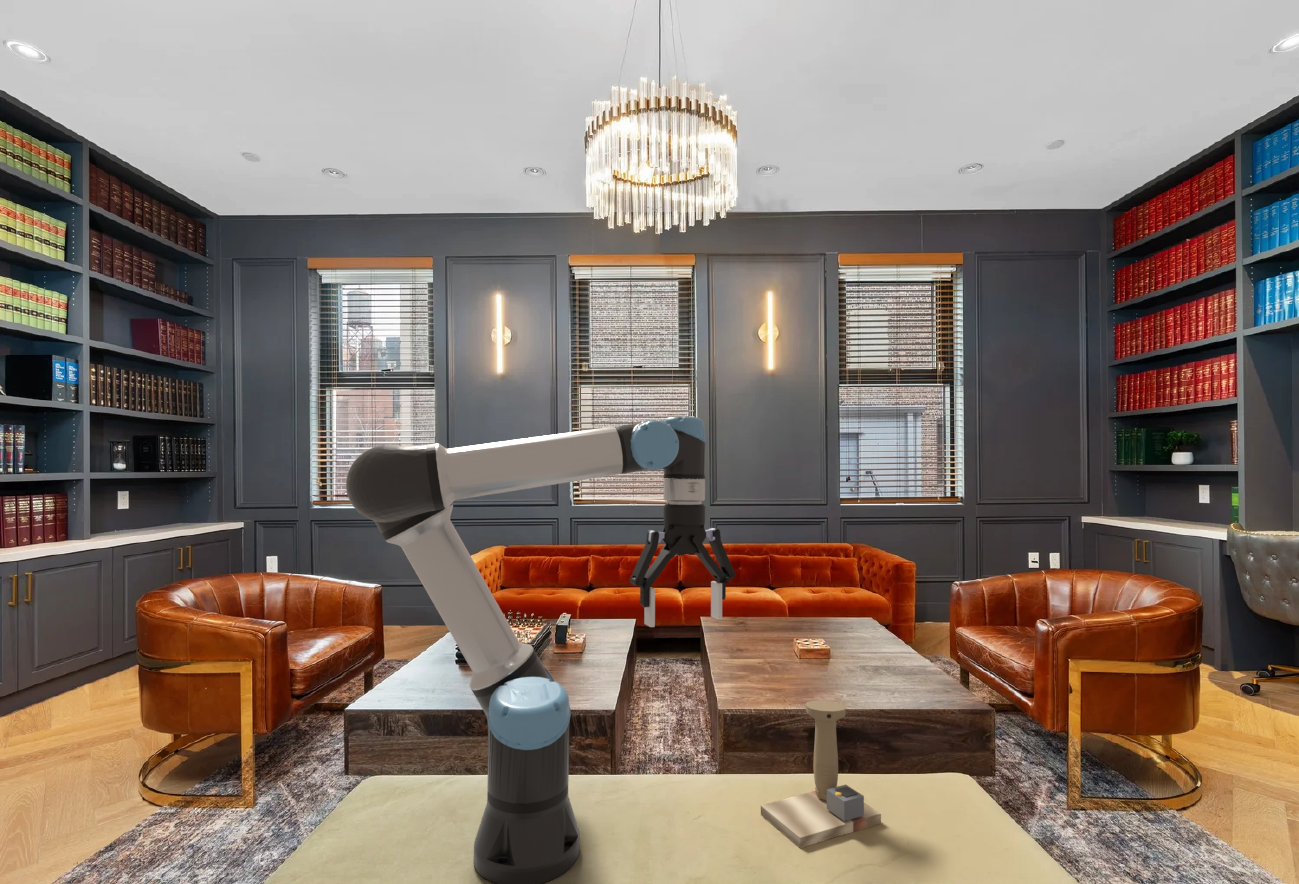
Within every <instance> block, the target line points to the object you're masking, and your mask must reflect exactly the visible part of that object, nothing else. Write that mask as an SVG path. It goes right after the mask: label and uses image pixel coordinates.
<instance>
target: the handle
mask: <svg viewBox="0 0 1299 884" xmlns="http://www.w3.org/2000/svg"><path fill="white" fill-rule="evenodd" d="M846 710H847V709H846V706H845V705H844V704H843V703H841V702H839V701H832V700H822V699H821V700H820V699H819V700H811V701H807V702H805V712H806V714H807V715H808V716H810V718H812V719H814V723H815V725H814V728H815V730H814V747H813V748H814V749H813V764H812V765H813V778H814V785H815V787H814V789H815V790H814V791H816V795H817V797H818V798H819V799H822V800H825V801H827V789H831V788H834V787H837V785H838V781H839V779H838V778H839V757H838V742H837V740H838V739H837V721H839V720H841V719H842V718H844V717H846Z"/></svg>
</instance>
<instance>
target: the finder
mask: <svg viewBox="0 0 1299 884" xmlns="http://www.w3.org/2000/svg"><path fill="white" fill-rule="evenodd" d="M864 803H865V796H864V794H861V793H860V792H858V791H856V790H855V789H854V788H852V787H851V786H849V785H847V784H843V785H838V787H834V788H831V789H827V809H828V810H829V811H830V812H832V813H833V814H835V815H836V816H837V817H839V818H840V819H842V820H843V821H847V820H851V819H854V818H857V817H861V816H864Z"/></svg>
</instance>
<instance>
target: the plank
mask: <svg viewBox="0 0 1299 884" xmlns="http://www.w3.org/2000/svg"><path fill="white" fill-rule="evenodd" d="M838 786H839V785H838V784H837V787H838ZM760 816H761V817H763V819H765V820H766V821H767V822H769V823H770V824H771V825H772V826H773V827H774V828H775V829H777V830H778V832H779V831H780V832H781V834H782V835H784V836H785V837H786V838H787V839H788V840H790V841H791V842H792V843H793V844H795V845H796V846H797V847H798V848H800V849H802V848H806V847H808V846H812V845H816V844H818V842H819V843H822V842H826V841H828V840H831V838H832V839H835V838H838V837H841V836H844V834H845V835H847V834H851V833H854V832H858V831H861V830H864V829H866V828H867V829H868V828H870V827H873V826H877V825H880V824H881V823H882V813H881V812H879V811H878V810H877V809H874V807H872V806H870V805H868V803H866V802H864V816H861V817H857V818H854V819H851V820H847V821H843V820H842V819H840V818H839V817H837V816H836V815H835V814H833V813H832V812H830V811H829V810H828V809H827V801H825V800H822V799H819V798H818V797H817V795H816V790H813V791H809V792H806V793H805V792H804V793H802V794H798V795H794V796H791V797H786V798H784V799H779V800H775V801H772V802H769V803H764V804H761V805H760ZM837 836H838V837H837ZM834 837H835V838H834ZM821 841H822V842H821Z"/></svg>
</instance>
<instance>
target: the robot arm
mask: <svg viewBox="0 0 1299 884" xmlns="http://www.w3.org/2000/svg"><path fill="white" fill-rule="evenodd" d="M705 426H706V425H705V422H704V421H703V420H702V418H699V417H696V416H671V417H670V416H669V417H666V418H665V419H664V421H661V420H655V419H652V420H651V419H650V420H644V421H642V422H637V423H632V424H631V423H630V424H623V425H615V426H604V427H601V428H599V427H598V428H593V429H585V430H578V431H572V432H570V431H569V432H564V433H563V432H562V433H557V434H556V433H555V434H549V435H542V436H541V435H540V436H532V437H528V438H527V437H526V438H517V439H511V440H510V439H509V440H503V441H496V442H495V441H494V442H489V443H482V444H474V445H466V446H458V447H451V448H448V447H447V448H446V447H445V446H443V445H442V444H440V443H439V442H438V443H437V442H436V443H435V442H434V443H429V444H418V445H416V444H415V445H399V444H398V445H397V444H381V445H377V446H374V447H372V448H369V449H367V450H365V451H364V452H362V453H361V454H360V455H358V457H357V458H356V459H355V460H354V461H353V462H352V464H351V465H350V468H349V470H348V472H347V476H346V479H345V480H346V482H345V487H346V488H345V490H346V493H347V497H348V500H349V502H350V503H351V505H352V507H353V508H354V509H355V510H356V511H357V512H358V513H359V514H360V515H362V516H363V517H364V518H366V519H369V520H371V521H373V522H374V523H375V525H376V527H377V528H378V530H379V532H380V533H381V535H382V537H383V538H384V540H385V542H386V543H389V544H393V545H396V546H399V547H401V549H402V551H403V552H404V554H405V556H406V559H407V560H408V562H409V563H410V565H411V567H412V568H413V570H414V573H415V574H416V576H417V577H418V579H419V580H420V582H421V584H422V586H423V588H424V589H425V591H426V593H427V595H428V596H429V598H430V600H431V602H432V603H433V606H434V607H435V609H436V611H437V612H438V614H439V616H440V618H441V619H442V621H443V622H444V624H445V626H446V628H447V629H448V631H449V633H450V634H451V636H452V638H453V640H454V642H455V644H456V645H457V647H458V649H459V650H460V652H461V654H462V656H463V658H464V659H465V661H466V663H467V665H468V666H469V667H470V669H471V672H472V675H471V678H470V681H469V682H470V683H469V688H470V690H471V692H472V693H473V695H474V697H475V699H476V701H477V702H478V703H479V706H480V707H481V709H482V711H483V712H484V714H485V716H486V718H487V785H486V786H487V794H486V795H487V796H486V797H487V800H486V805H485V808H484V811H483V815H482V817H481V820H480V824H479V826H478V829H477V832H476V835H475V839H474V841H473V842H474V844H473V866H474V868H475V870H476V872H477V873H478V874H479V875H480V876H481V877H482V878H484V879H485V880H487V881H489V882H491V883H494V884H542V883H546V882H549V881H551V880H554V879H556V878H559V876H561V875H563V874H565V873H566V872H567V871H569V870H570V869H571V868H572V866H573V865H575V863H576V862H577V860H578V858H579V855H580V845H581V841H580V839H581V837H580V836H581V833H580V830H579V826H578V823H577V820H576V817H575V812H574V809H573V806H572V803H571V800H570V797H569V775H570V774H569V769H570V768H569V767H570V766H569V763H570V762H569V761H570V759H569V758H570V757H569V755H570V751H569V749H570V720H571V715H572V714H571V706H570V698H569V695H568V692H567V690H566V688H565V687H564V686H563V685H562V684H560V683H559V682H557V681H555V679H554V677H553V675H552V674H551V672H550V671H549V670H548V669H547V668H546V667H545V666H544V664H543V663H542V661H541V659H540V657H539V656H538V654H537V652H536V650H535V649H534V647H533V646H532V645H531V644H529V643H523V642H520V640H519V639H518V637H517V636H516V634H515V632H514V631H513V629H512V627H511V625H510V623H509V622H508V620H507V618H506V616H505V615H504V612H502V609H501V608H500V605H499V604H498V602H497V601H496V599H495V597H494V596H493V593H492V591H491V590H490V588H489V586H488V585H487V582H486V581H485V579H484V578H483V576H482V574H481V572H480V570H479V569H478V567H477V565H476V563H475V561H474V559H473V558H472V556H471V554H470V552H469V551H468V549H467V548H466V546H465V544H464V542H463V540H462V539H461V536H460V535H459V533H458V532H457V531H458V530H456V528H455V525H454V524H453V523H452V520H451V515H452V512H453V509H454V508H453V507H454V505H453V502H455V501H458V500H464V499H465V500H466V499H471V498H476V497H483V496H487V495H496V494H503V493H509V492H514V491H515V492H516V491H521V490H528V489H534V488H540V487H546V486H553V485H558V484H565V483H572V482H578V481H579V482H580V481H584V480H590V479H597V478H598V479H599V478H603V477H604V478H605V477H610V476H616V475H622V474H623V475H624V474H630V473H638V472H645V471H651V472H653V471H658V470H663V500H664V501H665V502H666V503H665V504H664V505H663V529H662V530H663V531H656V530H652V529H649V530H648V531H647V533H646V541H645V542H646V543H645V545H644V547H643V549H642V551H641V554H640V555H639V558H638V561H637V563H636V564H635V567H634V570H633V571H632V573H631V576H630V578H629V583H630V584H632V585H635V586H637V587H639V603H640V606H641V607H643V610H644V612H643V613H644V616H643V617H644V619H643V621H644V622H643V623H644V625H645V626H647V627H649V628H655V625H656V588H654V587H652V586H653V584H655V582H656V580H657V579H658V578H659V576H660V575H661V573H662V572H663V570H664V569H665V568H666V566H667V565H668V564H669V562H670V561H671V560H672V559H674V557H675V556H679V557H680V556H686V555H690V556H692V555H694V556H695V555H696V556H697V558H698V559H699V560H700V562H701V563H702V564H703V566H704V567H705V568H706V569H707V571H708V572H709V573H710V575H711V576H712V577H713V579H714V580H712V581H710V617H711V618H712V619H715V620H719V621H720V620H721V621H722V620H723V600H726V593H727V592H726V590H727V589H726V588H727V585H726V584H728V583H729V582H730V579H735V577H736V572H735V569H734V568H733V566H732V563H731V561H730V559H729V558H730V557H729V556H728V555H727V551H726V550H725V549H726V548H725V547H724V544H723V542H722V539H721V538H722V535H721V530H720V529H719V528H715V527H708V529H705V523H706V505H705V504H703V503H702V502H704V501H705V500H706V445H707V441H706V440H707V439H706V428H705ZM662 540H663V542H664V546H663V547H662V548H661V550H660V551H659V554H658V555H657V557H656V558H655V560H654V561H653V559H654V556H655V553H656V552H657V549H658V547H659V544H660V543H661V541H662ZM705 540H707V541H708V543H709V545H710V547H711V550H712V552H713V555H714V557H715V560H716V561H717V562H716V561H715V560H714V558H713V557H712V556H711V555H710V553H709V551H708V549H707V548H706V547H705V545H704V544H703V543H704V541H705ZM652 561H653V562H652ZM651 562H652V564H651ZM717 563H718V564H717Z"/></svg>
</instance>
